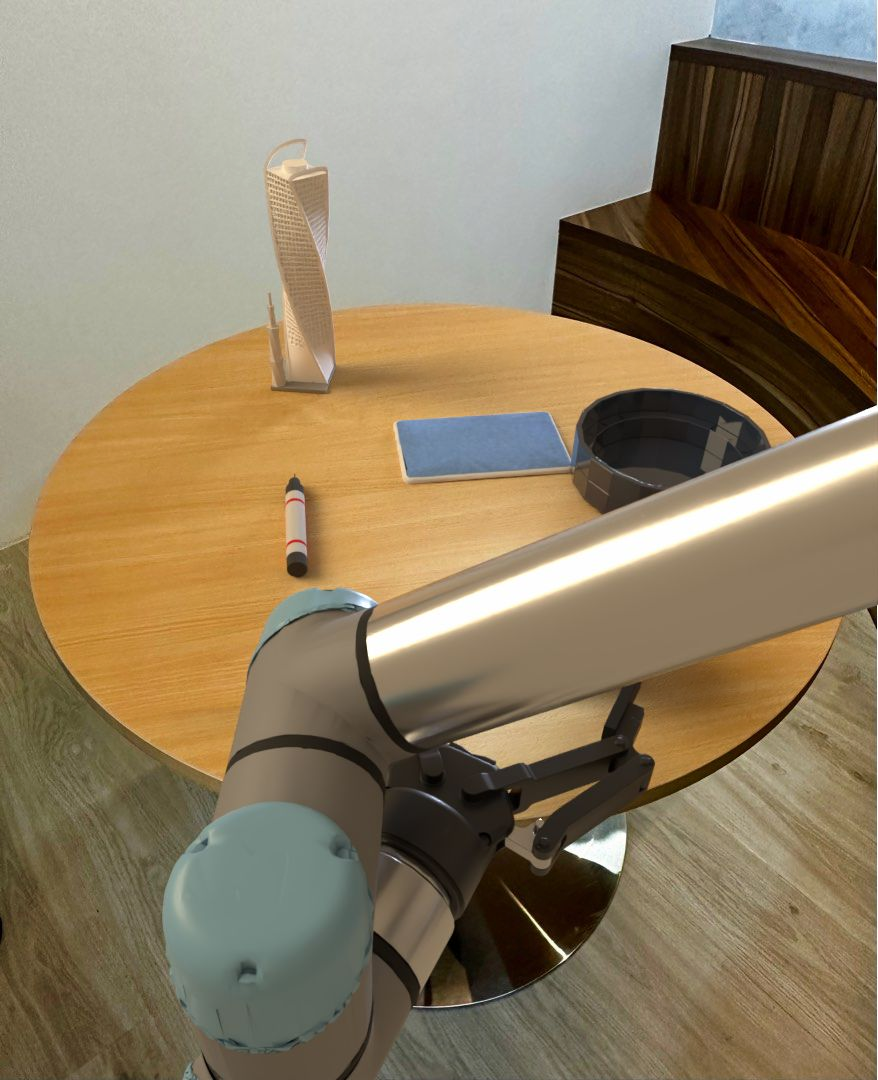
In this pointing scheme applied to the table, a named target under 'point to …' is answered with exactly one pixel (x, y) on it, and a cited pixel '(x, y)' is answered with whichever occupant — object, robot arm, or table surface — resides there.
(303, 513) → the marker
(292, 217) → the skyscraper
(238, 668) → the table surface
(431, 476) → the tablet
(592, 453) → the dark grey dish
